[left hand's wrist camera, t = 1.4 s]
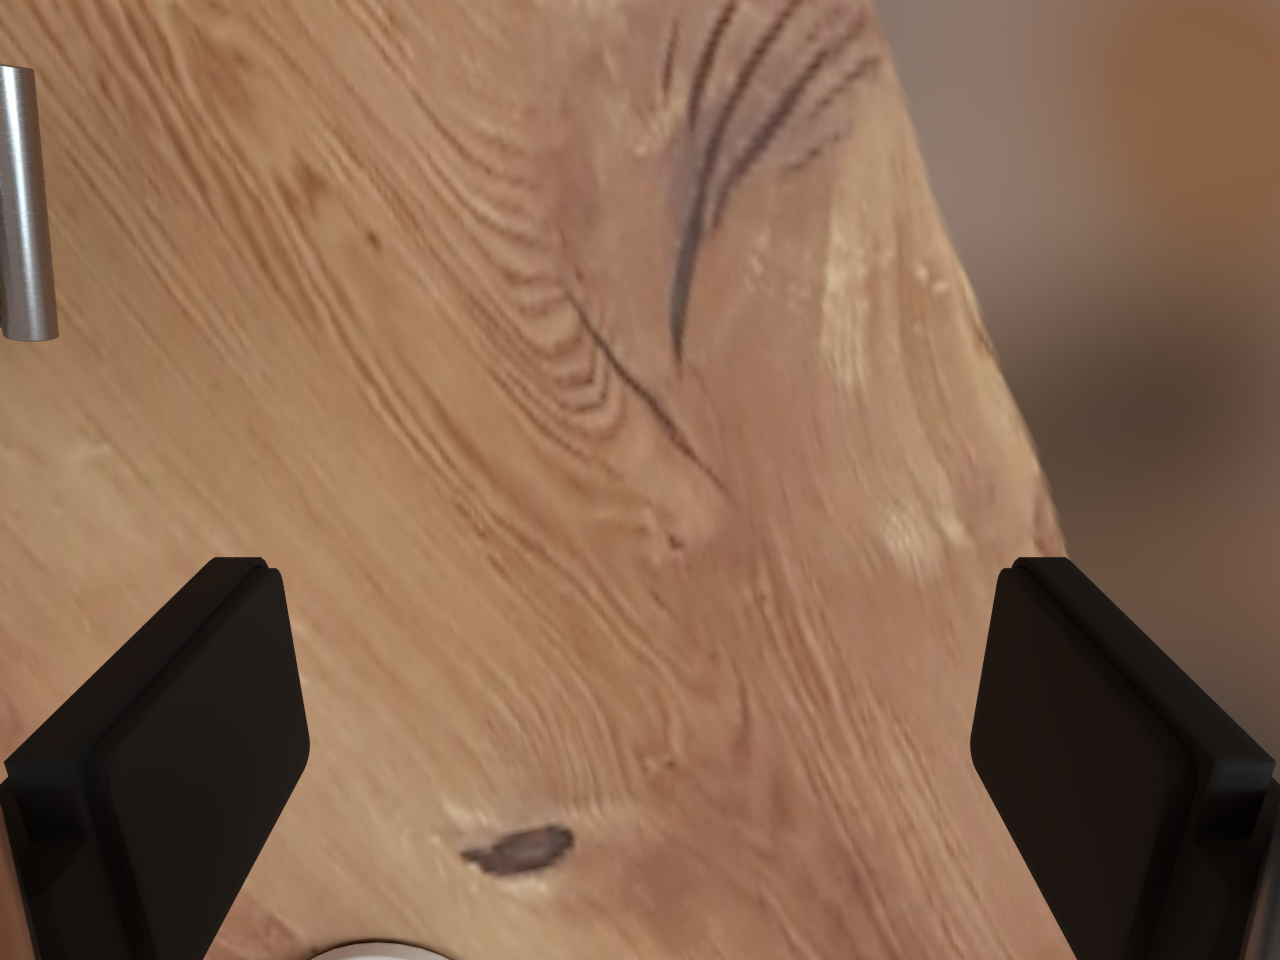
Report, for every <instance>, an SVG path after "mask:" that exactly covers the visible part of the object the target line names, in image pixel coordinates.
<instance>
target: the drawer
mask: <svg viewBox="0 0 1280 960" xmlns="http://www.w3.org/2000/svg"><path fill="white" fill-rule="evenodd" d="M0 328H2V332H3V336H4V337H5V338H8V339H11V340H17V341H30V342H34V341H47V340H52V339H56V338H58V336H59V329H58V319H57V308H56V298H55V287H54V276H53V266H52V255H51V245H50V234H49V223H48V213H47V202H46V192H45V181H44V171H43V160H42V149H41V139H40V128H39V118H38V107H37V96H36V86H35V75H34V70H33V69H30V68H25V67H18V66H12V65H5V64H0Z"/></svg>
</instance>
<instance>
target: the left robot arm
mask: <svg viewBox="0 0 1280 960" xmlns="http://www.w3.org/2000/svg"><path fill="white" fill-rule="evenodd" d="M309 750H310V739H309V732H308V726H307V720H306V715H305V709H304V703H303V697H302V691H301V685H300V679H299V674H298V668H297V662H296V656H295V650H294V644H293V638H292V633H291V627H290V621H289V615H288V609H287V603H286V597H285V591H284V586H283V580H282V576H281V574H280V572H279V570H277V569H276V568H268V565H267V563H266V562H265V560H264V559H262V558H261V557H215V558H213V559H212V560H210V561H209V562H208V563H207V564H206V565H205V566H204V567H203V568H202V569H201V570H200V571H199V572H198V573H197V574H196V575H195V576H194V577H193V578H192V579H191V580H189V581H188V582H187V583H186V584H185V585H184V586H183V587H182V588H181V589H180V590H179V591H178V592H177V593H176V594H175V595H174V596H173V597H172V598H171V599H170V600H169V601H168V602H167V603H166V604H165V605H164V606H163V607H162V608H161V609H160V610H159V611H158V612H157V613H156V614H155V615H154V616H153V617H152V618H151V619H150V620H149V621H148V622H147V623H145V624H144V625H143V626H142V627H141V628H140V629H139V630H138V631H137V632H136V633H135V634H134V635H133V636H132V637H131V638H130V639H129V640H128V641H127V642H126V643H125V644H124V645H123V646H122V647H121V648H120V649H119V650H118V651H117V652H116V653H115V654H114V655H113V656H112V657H111V658H110V659H109V660H108V661H107V662H106V663H105V664H104V665H103V666H101V667H100V668H99V669H98V670H97V671H96V672H95V673H94V674H93V675H92V676H91V677H90V678H89V679H88V680H87V681H86V682H85V683H84V684H83V685H82V686H81V687H80V688H79V689H78V690H77V691H76V692H75V693H74V694H73V695H72V696H71V697H70V698H69V699H68V700H67V701H66V702H65V703H64V704H63V705H62V706H61V707H60V708H59V709H57V710H56V711H55V712H54V713H53V714H52V715H51V716H50V717H49V718H48V719H47V720H46V721H45V722H44V723H43V724H42V725H41V726H40V727H39V728H38V729H37V730H36V731H35V732H34V733H33V734H32V735H31V736H30V737H29V738H28V739H27V740H26V741H25V742H24V743H23V744H22V745H21V746H20V747H19V748H18V749H17V750H16V751H15V752H13V753H12V754H11V755H10V756H9V757H8V758H7V759H6V760H5V761H4V764H5V767H6V770H7V773H8V777H7V778H6V779H5V780H4V781H3V782H2V783H1V784H0V960H203V958H204V957H205V955H206V953H207V951H208V949H209V947H210V945H211V943H212V942H213V940H214V938H215V936H216V934H217V932H218V930H219V928H220V927H221V925H222V923H223V921H224V919H225V917H226V915H227V913H228V912H229V910H230V908H231V906H232V904H233V902H234V900H235V898H236V897H237V895H238V893H239V891H240V889H241V887H242V885H243V883H244V882H245V880H246V878H247V876H248V874H249V872H250V870H251V868H252V867H253V865H254V863H255V861H256V859H257V857H258V855H259V853H260V852H261V850H262V848H263V846H264V844H265V842H266V840H267V838H268V837H269V835H270V833H271V831H272V829H273V827H274V825H275V823H276V822H277V820H278V818H279V816H280V814H281V812H282V810H283V808H284V807H285V805H286V803H287V801H288V799H289V797H290V795H291V793H292V792H293V790H294V788H295V786H296V784H297V782H298V780H299V778H300V777H301V775H302V773H303V771H304V769H305V767H306V764H307V761H308V757H309ZM970 750H971V757H972V761H973V764H974V767H975V769H976V771H977V773H978V775H979V777H980V778H981V780H982V782H983V784H984V786H985V788H986V790H987V792H988V793H989V795H990V797H991V799H992V801H993V803H994V805H995V807H996V808H997V810H998V812H999V814H1000V816H1001V818H1002V820H1003V822H1004V823H1005V825H1006V827H1007V829H1008V831H1009V833H1010V835H1011V837H1012V838H1013V840H1014V842H1015V844H1016V846H1017V848H1018V850H1019V852H1020V853H1021V855H1022V857H1023V859H1024V861H1025V863H1026V865H1027V867H1028V868H1029V870H1030V872H1031V874H1032V876H1033V878H1034V880H1035V882H1036V883H1037V885H1038V887H1039V889H1040V891H1041V893H1042V895H1043V897H1044V898H1045V900H1046V902H1047V904H1048V906H1049V908H1050V910H1051V912H1052V913H1053V915H1054V917H1055V919H1056V921H1057V923H1058V925H1059V927H1060V928H1061V930H1062V932H1063V934H1064V936H1065V938H1066V940H1067V942H1068V943H1069V945H1070V947H1071V949H1072V951H1073V953H1074V955H1075V957H1076V958H1077V960H1280V784H1279V783H1278V782H1277V781H1276V780H1275V779H1274V778H1273V777H1272V773H1273V770H1274V767H1275V764H1276V761H1275V760H1274V759H1273V758H1272V757H1271V756H1270V755H1268V753H1267V752H1265V751H1264V750H1263V749H1262V748H1261V747H1260V746H1259V745H1258V744H1257V743H1256V742H1255V741H1254V740H1253V739H1252V738H1251V737H1250V736H1249V735H1248V734H1247V733H1246V732H1245V731H1244V730H1243V729H1242V728H1241V727H1240V726H1239V725H1238V724H1237V723H1236V722H1235V721H1234V720H1233V719H1232V718H1231V717H1230V716H1229V715H1228V714H1227V713H1226V712H1225V711H1224V710H1222V709H1221V708H1220V707H1219V706H1218V705H1217V704H1216V703H1215V702H1214V701H1213V700H1212V699H1211V698H1210V697H1209V696H1208V695H1207V694H1206V693H1205V692H1204V691H1203V690H1202V689H1201V688H1200V687H1199V686H1198V685H1197V684H1196V683H1195V682H1194V681H1193V680H1192V679H1191V678H1190V677H1189V676H1188V675H1187V674H1186V673H1185V672H1184V671H1183V670H1181V668H1180V667H1178V666H1177V665H1176V664H1175V663H1174V662H1173V661H1172V660H1171V659H1170V658H1169V657H1168V656H1167V655H1166V654H1165V653H1164V652H1163V651H1162V650H1161V649H1160V648H1159V647H1158V646H1157V645H1156V644H1155V643H1154V642H1153V641H1152V640H1151V639H1150V638H1149V637H1148V636H1147V635H1146V634H1145V633H1144V632H1143V631H1142V630H1141V629H1140V628H1139V627H1138V626H1137V625H1135V624H1134V623H1133V622H1132V621H1131V620H1130V619H1129V618H1128V617H1127V616H1126V615H1125V614H1124V613H1123V612H1122V611H1121V610H1120V609H1119V608H1118V607H1117V606H1116V605H1115V604H1114V603H1113V602H1112V601H1111V600H1110V599H1109V598H1108V597H1107V596H1106V595H1105V594H1104V593H1103V592H1102V591H1101V590H1100V589H1099V588H1098V587H1097V586H1096V585H1095V584H1094V583H1093V582H1092V581H1091V580H1089V579H1088V578H1087V577H1086V576H1085V575H1084V574H1083V573H1082V572H1081V571H1080V570H1079V569H1078V568H1077V567H1076V566H1075V565H1074V564H1073V563H1072V562H1071V561H1070V560H1068V559H1067V558H1065V557H1019V558H1018V559H1016V560H1015V562H1014V563H1013V565H1012V568H1004V569H1003V570H1001V572H1000V574H999V576H998V580H997V586H996V591H995V597H994V603H993V609H992V615H991V621H990V627H989V632H988V638H987V644H986V650H985V656H984V662H983V668H982V674H981V679H980V685H979V691H978V697H977V703H976V709H975V715H974V720H973V726H972V732H971V739H970ZM311 960H449V959H447V958H445V957H443V956H441V955H439V954H436V953H433V952H430V951H427V950H424V949H422V948H417V947H412V946H407V945H403V944H394V943H378V942H376V943H364V944H354V945H350V946H345V947H341V948H337V949H333V950H331V951H328V952H326V953H323V954H321V955H319V956H316V957H314V958H313V959H311Z"/></svg>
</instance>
